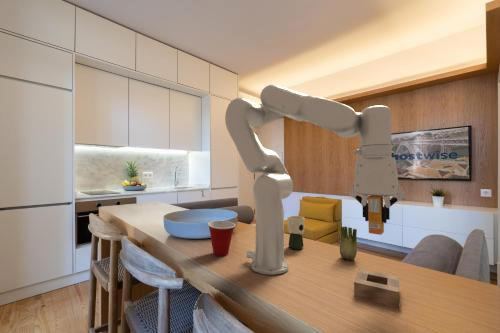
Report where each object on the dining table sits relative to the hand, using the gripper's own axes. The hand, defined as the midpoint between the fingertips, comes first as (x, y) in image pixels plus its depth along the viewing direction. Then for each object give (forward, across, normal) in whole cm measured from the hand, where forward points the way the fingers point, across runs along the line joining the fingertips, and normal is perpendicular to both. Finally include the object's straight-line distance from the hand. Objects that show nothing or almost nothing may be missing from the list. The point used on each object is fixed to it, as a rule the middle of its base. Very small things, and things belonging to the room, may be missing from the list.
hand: (375, 220), depth 64 cm
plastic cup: (+19, -54, +2) cm, 57 cm away
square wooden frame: (+20, 0, 0) cm, 20 cm away
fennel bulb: (+19, -11, +23) cm, 32 cm away
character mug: (+19, -32, +25) cm, 45 cm away
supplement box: (+3, 0, 0) cm, 3 cm away
